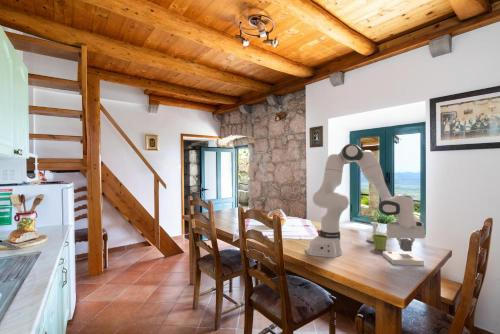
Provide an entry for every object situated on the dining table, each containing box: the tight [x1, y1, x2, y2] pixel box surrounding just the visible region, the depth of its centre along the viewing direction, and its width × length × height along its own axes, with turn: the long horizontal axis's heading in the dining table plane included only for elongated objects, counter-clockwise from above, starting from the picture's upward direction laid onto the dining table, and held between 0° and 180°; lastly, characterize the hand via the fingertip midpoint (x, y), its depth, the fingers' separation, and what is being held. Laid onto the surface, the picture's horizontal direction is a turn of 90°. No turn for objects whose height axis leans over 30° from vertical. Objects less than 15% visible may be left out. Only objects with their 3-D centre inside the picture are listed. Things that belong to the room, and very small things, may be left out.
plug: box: [399, 238, 413, 252], centre depth 143 cm, size 4×5×6 cm
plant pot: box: [372, 233, 389, 251], centre depth 163 cm, size 9×9×9 cm
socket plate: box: [382, 250, 425, 266], centre depth 143 cm, size 16×14×3 cm
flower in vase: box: [363, 207, 379, 243], centre depth 179 cm, size 13×11×25 cm
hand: (405, 245), depth 143 cm, fingers closed on plug, 4 cm apart
